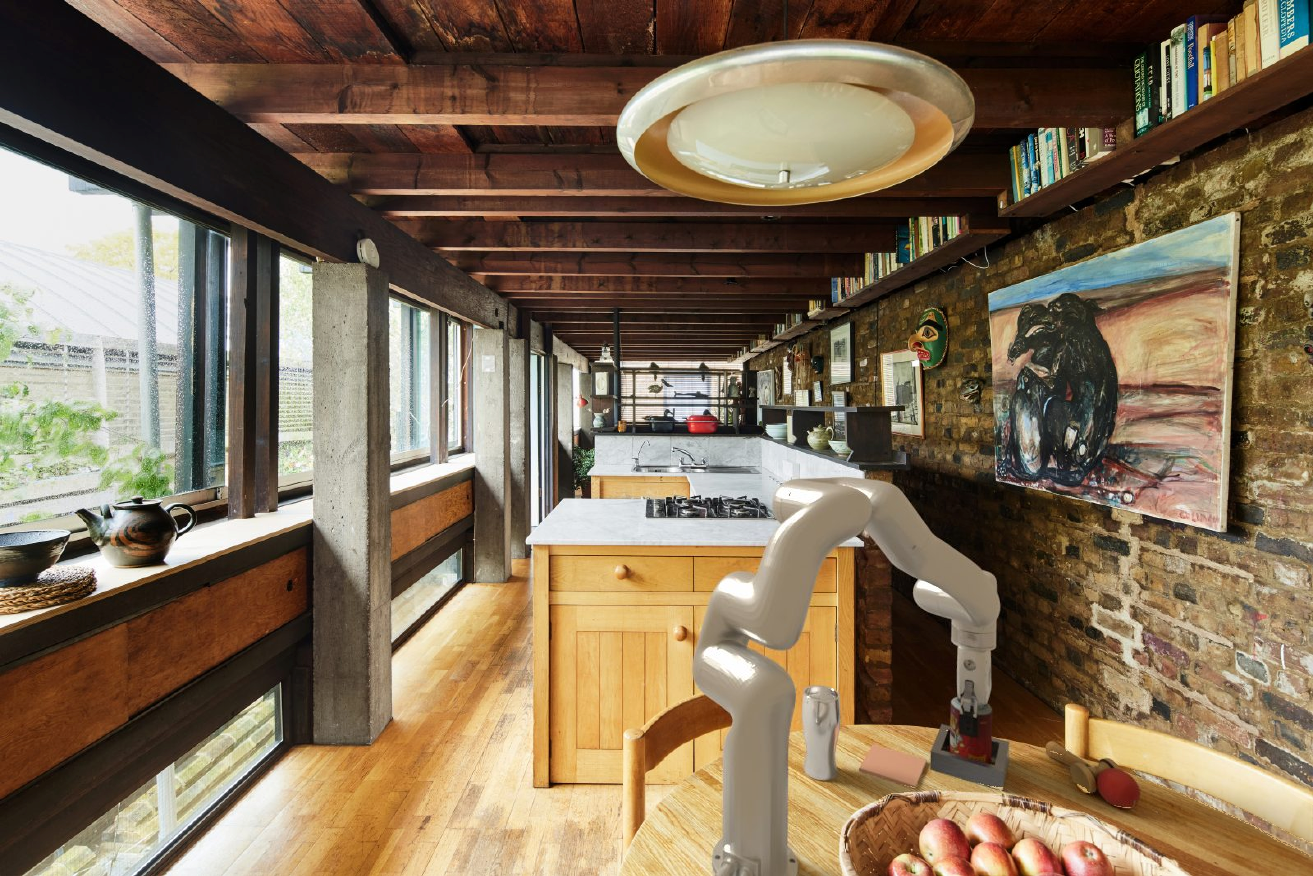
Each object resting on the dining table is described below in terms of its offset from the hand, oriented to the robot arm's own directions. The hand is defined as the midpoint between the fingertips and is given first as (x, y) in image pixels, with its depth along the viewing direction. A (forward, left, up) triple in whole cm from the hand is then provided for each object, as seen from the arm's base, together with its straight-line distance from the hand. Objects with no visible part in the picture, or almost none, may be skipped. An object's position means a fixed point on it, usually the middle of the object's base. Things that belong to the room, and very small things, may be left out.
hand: (972, 723), depth 117 cm
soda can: (0, 0, -8) cm, 8 cm away
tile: (-9, +12, -8) cm, 17 cm away
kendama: (+5, -18, -8) cm, 21 cm away
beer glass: (-18, +23, -8) cm, 31 cm away
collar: (0, 0, -8) cm, 8 cm away
